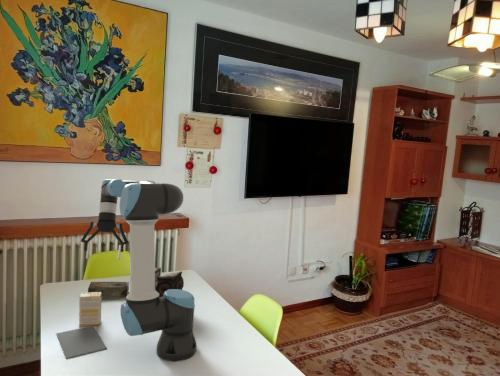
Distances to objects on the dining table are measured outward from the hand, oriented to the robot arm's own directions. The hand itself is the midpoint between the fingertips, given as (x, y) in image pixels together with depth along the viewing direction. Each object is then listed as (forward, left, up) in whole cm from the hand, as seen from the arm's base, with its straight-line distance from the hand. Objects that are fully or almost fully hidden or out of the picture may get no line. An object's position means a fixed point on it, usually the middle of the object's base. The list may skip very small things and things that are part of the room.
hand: (103, 258), depth 171 cm
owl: (-15, -26, -25) cm, 39 cm away
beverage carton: (+16, -8, -25) cm, 31 cm away
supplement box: (-10, +7, -25) cm, 28 cm away
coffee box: (+1, -24, -25) cm, 34 cm away
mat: (-24, +14, -25) cm, 37 cm away
